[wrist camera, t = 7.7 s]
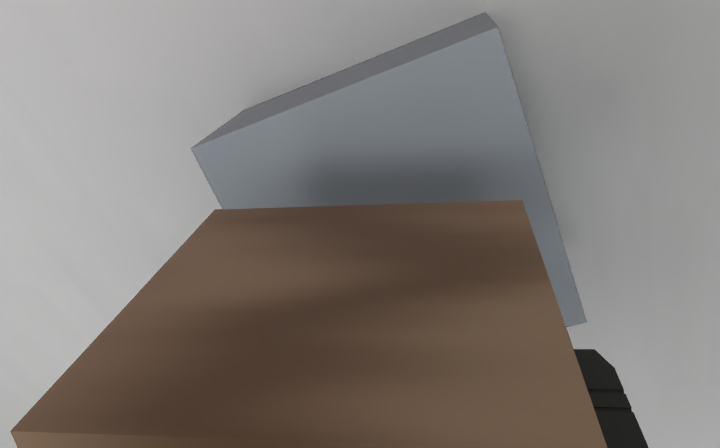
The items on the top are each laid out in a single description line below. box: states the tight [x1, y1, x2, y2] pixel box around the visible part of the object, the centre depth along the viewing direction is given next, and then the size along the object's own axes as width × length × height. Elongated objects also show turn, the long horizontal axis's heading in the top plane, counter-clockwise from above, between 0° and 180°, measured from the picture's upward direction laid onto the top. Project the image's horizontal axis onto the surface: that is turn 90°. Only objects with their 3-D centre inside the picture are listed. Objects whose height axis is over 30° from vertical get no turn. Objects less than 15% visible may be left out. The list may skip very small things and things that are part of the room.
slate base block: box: [191, 13, 586, 327], centre depth 19 cm, size 9×9×5 cm
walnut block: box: [11, 200, 607, 448], centre depth 9 cm, size 6×6×6 cm
